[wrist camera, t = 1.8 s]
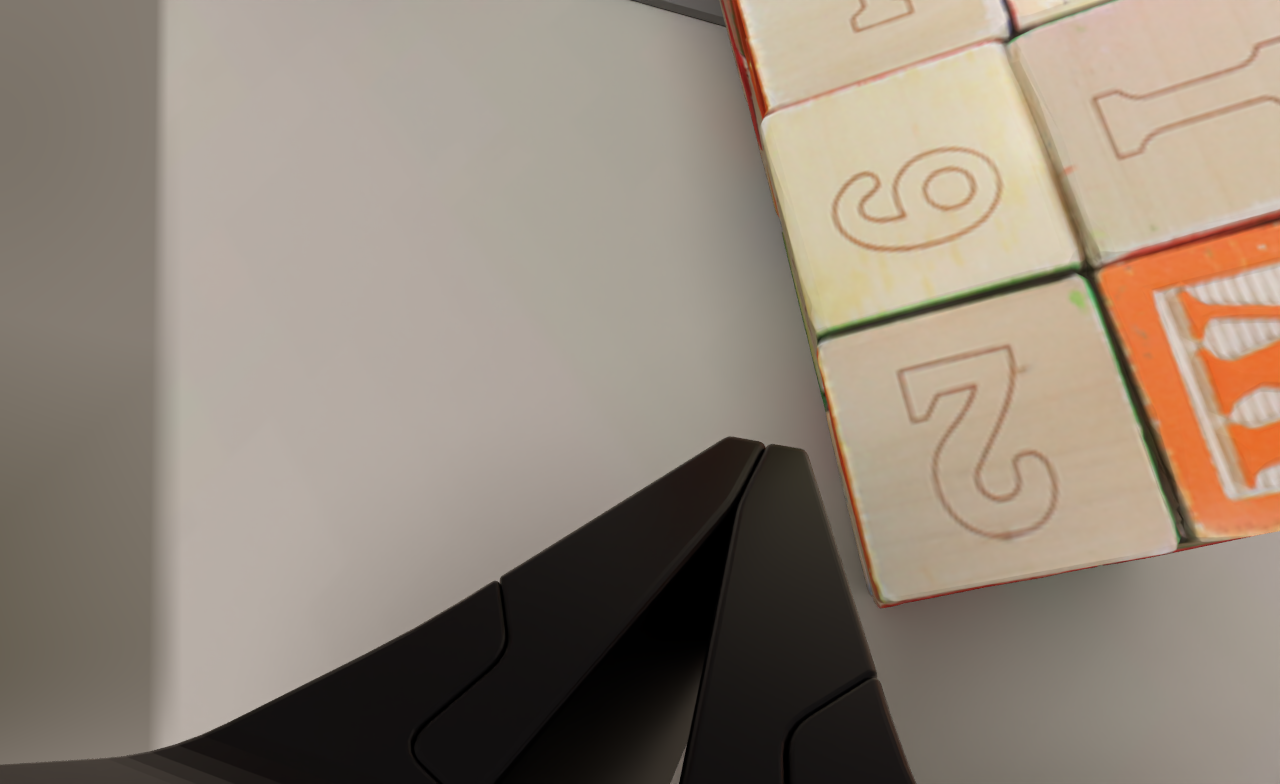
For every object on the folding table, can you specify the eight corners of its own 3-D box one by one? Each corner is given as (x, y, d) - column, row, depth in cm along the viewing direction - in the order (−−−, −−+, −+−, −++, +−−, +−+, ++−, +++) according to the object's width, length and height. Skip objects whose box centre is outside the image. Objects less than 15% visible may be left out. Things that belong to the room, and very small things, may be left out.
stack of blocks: (697, -78, 26) (561, -613, 14) (896, -152, 25) (922, -805, 13) (871, 603, 20) (875, 616, 8) (1145, 551, 19) (1598, 484, 7)
